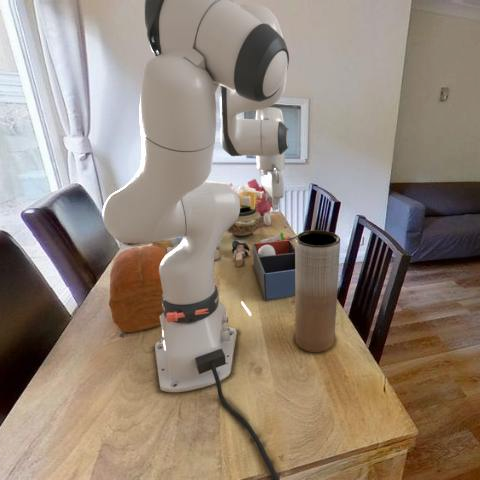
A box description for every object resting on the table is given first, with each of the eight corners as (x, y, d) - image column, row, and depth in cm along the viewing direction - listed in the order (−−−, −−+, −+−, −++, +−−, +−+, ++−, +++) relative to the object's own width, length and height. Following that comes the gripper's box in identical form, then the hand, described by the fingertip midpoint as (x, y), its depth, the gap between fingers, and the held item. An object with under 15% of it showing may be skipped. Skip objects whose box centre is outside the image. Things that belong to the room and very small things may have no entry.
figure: (214, 200, 139) (213, 180, 136) (251, 197, 149) (252, 178, 146) (227, 212, 126) (227, 190, 123) (267, 208, 136) (268, 187, 133)
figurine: (217, 236, 141) (216, 224, 138) (171, 257, 120) (169, 243, 118) (196, 230, 146) (194, 218, 143) (148, 249, 125) (146, 236, 123)
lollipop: (284, 271, 114) (268, 261, 101) (270, 268, 116) (252, 258, 102) (289, 255, 116) (273, 243, 102) (275, 253, 118) (258, 241, 104)
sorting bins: (308, 293, 98) (309, 268, 95) (264, 300, 94) (263, 274, 90) (290, 261, 119) (290, 239, 116) (253, 265, 115) (252, 243, 111)
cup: (256, 237, 121) (294, 230, 123) (258, 236, 129) (293, 230, 131) (260, 257, 122) (297, 249, 124) (262, 254, 130) (297, 248, 131)
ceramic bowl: (224, 233, 151) (213, 205, 144) (258, 221, 156) (249, 193, 149) (232, 253, 130) (220, 221, 123) (272, 238, 135) (262, 207, 128)
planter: (325, 323, 84) (329, 228, 74) (340, 347, 76) (348, 243, 65) (290, 331, 81) (289, 232, 70) (302, 357, 72) (303, 248, 62)
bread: (174, 276, 105) (167, 233, 99) (184, 320, 84) (176, 268, 78) (119, 287, 98) (107, 241, 92) (114, 338, 76) (99, 282, 70)
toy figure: (254, 265, 116) (248, 247, 128) (251, 250, 113) (245, 234, 126) (234, 269, 114) (231, 251, 127) (231, 254, 111) (228, 238, 124)
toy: (264, 238, 169) (288, 226, 172) (256, 219, 141) (285, 205, 143) (241, 197, 176) (265, 185, 178) (229, 170, 147) (257, 157, 150)
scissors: (304, 233, 147) (304, 230, 146) (280, 249, 129) (280, 245, 129) (290, 231, 150) (290, 228, 149) (265, 246, 132) (265, 242, 132)
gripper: (288, 167, 89) (289, 213, 94) (274, 158, 107) (275, 197, 112) (266, 168, 87) (268, 215, 92) (255, 158, 105) (257, 198, 110)
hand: (272, 205), depth 102 cm, fingers open, 8 cm apart
